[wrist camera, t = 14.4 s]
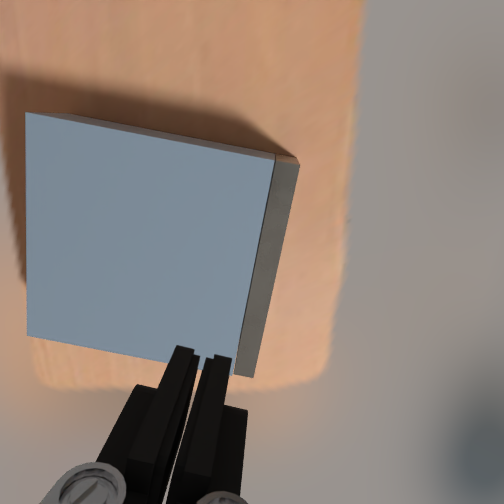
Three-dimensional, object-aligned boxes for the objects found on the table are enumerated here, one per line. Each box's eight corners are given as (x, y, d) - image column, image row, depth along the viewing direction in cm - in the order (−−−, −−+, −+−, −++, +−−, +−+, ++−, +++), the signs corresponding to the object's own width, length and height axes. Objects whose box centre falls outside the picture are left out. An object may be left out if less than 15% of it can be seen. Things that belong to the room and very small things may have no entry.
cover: (68, 113, 38) (25, 111, 32) (275, 153, 38) (274, 160, 32) (62, 304, 45) (27, 335, 38) (238, 339, 45) (232, 375, 38)
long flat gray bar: (276, 153, 38) (275, 160, 32) (296, 157, 38) (300, 165, 32) (239, 337, 45) (233, 374, 39) (256, 341, 45) (253, 377, 39)
